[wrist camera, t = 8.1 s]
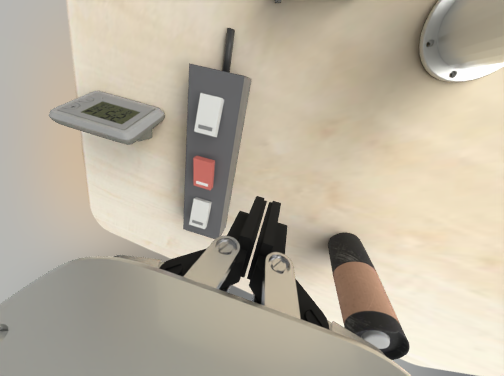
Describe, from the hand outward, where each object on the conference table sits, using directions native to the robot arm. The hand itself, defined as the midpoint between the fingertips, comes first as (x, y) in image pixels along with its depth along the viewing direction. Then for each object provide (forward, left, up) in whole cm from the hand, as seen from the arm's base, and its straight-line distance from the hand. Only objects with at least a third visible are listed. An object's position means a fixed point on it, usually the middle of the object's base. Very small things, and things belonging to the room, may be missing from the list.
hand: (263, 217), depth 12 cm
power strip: (+5, -13, -26) cm, 30 cm away
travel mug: (+20, +20, -27) cm, 39 cm away
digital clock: (+3, -33, -27) cm, 42 cm away
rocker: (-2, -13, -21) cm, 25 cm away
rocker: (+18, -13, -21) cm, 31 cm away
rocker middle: (+8, -13, -21) cm, 26 cm away
